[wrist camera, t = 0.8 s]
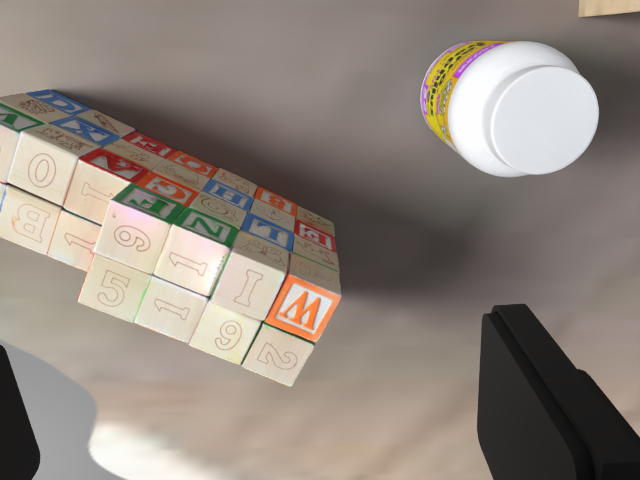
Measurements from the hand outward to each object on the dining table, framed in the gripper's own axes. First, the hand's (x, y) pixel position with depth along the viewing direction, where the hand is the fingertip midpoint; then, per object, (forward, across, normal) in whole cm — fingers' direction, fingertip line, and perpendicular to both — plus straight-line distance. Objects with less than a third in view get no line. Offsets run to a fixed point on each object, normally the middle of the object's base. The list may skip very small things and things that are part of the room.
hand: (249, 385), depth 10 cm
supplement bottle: (+27, -11, -2) cm, 30 cm away
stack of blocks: (+28, +8, +4) cm, 29 cm away
